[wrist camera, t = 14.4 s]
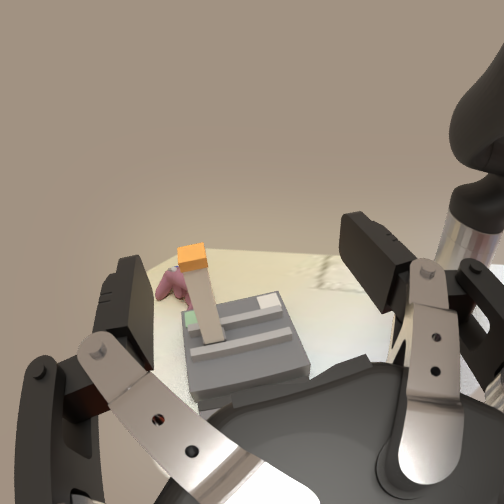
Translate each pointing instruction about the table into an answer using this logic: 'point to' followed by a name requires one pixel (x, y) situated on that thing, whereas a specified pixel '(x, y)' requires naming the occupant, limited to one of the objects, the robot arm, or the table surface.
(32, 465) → the robot arm
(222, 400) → the grey long flat bar
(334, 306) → the table surface
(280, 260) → the table surface
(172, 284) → the video game controller
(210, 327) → the breaker lever
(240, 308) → the breaker panel
